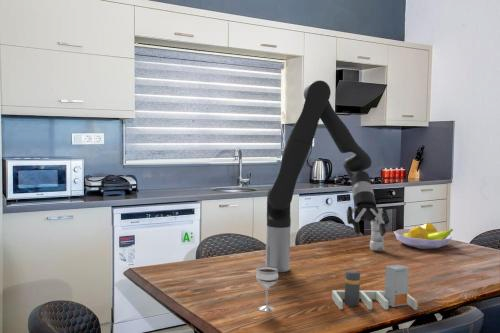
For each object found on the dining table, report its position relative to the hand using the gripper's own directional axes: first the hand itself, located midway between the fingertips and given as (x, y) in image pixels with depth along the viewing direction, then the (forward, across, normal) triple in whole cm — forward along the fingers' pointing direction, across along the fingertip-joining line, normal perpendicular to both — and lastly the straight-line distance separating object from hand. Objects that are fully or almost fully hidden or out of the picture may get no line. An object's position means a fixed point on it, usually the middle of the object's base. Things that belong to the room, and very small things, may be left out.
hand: (370, 234), depth 159 cm
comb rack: (+24, -2, +3) cm, 25 cm away
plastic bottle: (-26, +22, +52) cm, 62 cm away
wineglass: (+28, -36, +1) cm, 46 cm away
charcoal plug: (+24, -9, +3) cm, 26 cm away
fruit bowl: (-34, +49, +59) cm, 84 cm away
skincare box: (+24, +5, +3) cm, 25 cm away
